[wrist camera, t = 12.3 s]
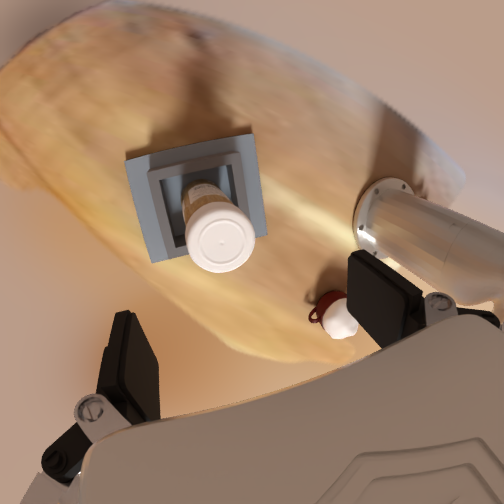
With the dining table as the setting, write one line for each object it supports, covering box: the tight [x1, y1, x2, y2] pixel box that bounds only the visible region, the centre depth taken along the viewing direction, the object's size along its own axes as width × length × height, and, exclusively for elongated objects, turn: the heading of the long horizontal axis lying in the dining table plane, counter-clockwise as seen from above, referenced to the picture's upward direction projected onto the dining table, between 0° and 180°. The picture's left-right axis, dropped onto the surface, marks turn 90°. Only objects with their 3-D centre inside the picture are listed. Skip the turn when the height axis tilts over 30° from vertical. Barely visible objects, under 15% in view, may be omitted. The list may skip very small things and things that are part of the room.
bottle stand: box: [124, 134, 267, 263], centre depth 29 cm, size 14×12×4 cm
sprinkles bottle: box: [181, 179, 255, 273], centre depth 24 cm, size 5×5×14 cm
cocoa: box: [309, 291, 359, 339], centre depth 37 cm, size 10×6×12 cm, turn 72°
